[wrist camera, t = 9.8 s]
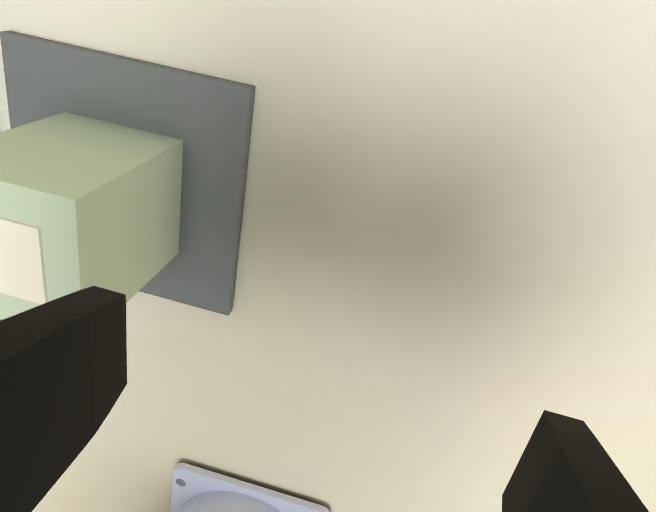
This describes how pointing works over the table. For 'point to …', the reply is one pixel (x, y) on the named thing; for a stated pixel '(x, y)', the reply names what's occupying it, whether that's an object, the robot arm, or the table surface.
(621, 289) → the table surface
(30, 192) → the pale green box
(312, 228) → the table surface
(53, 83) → the mat
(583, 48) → the table surface
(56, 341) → the robot arm
